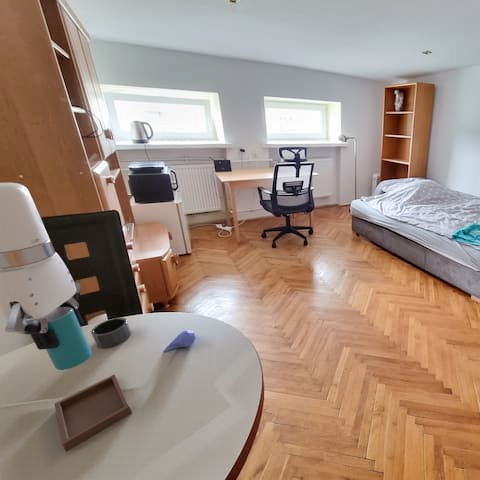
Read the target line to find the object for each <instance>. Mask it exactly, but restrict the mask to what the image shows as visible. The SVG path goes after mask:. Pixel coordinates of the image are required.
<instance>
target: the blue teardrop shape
mask: <svg viewBox="0 0 480 480" xmlns="http://www.w3.org/2000/svg"><path fill="white" fill-rule="evenodd" d="M196 337H197V336H196V334H195V332H194V331H193V330H190V329H188V330H183V331H181V332H180V333H179V334H178V335H177V336H175V338H174V339H173V340H172V341H170V343H169V344H168V345H167V346H166V347H165V348H164V349H163V351H162V352H163V353H165V352H168V351H172V350H175V349H178V348H187V347H191V346H192V345H193V344H194V343H195V341H196V339H197V338H196Z"/></svg>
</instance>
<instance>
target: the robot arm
mask: <svg viewBox="0 0 480 480" xmlns="http://www.w3.org/2000/svg"><path fill="white" fill-rule="evenodd" d="M80 289H81V284H80V283H79V282H76V281H74V279H73V276H72V275H71V273H70V270H69V269H68V267H67V265H66V264H65V261H63V259H62V258H61V256H60V255H59V253H57V252H56V251H55V248H54V246H53V243H52V240H51V239H50V237H49V234H48V232H47V230H46V228H45V225H44V222H43V220H42V218H41V215H40V213H39V211H38V209H37V206H36V203H35V201H34V199H33V197H32V195H31V192H30V191H29V189H28V188H27V187H26V186H25V185H23V184H21V183H17V182H0V309H1V311H2V313H3V315H4V317H5V319H6V320H7V322H6V325H5V329H4V330H5V332H6V333H13V334H14V333H15V334H22V335H23V334H24V335H27V336H29V335H30V337H31V339H32V340H33V342H34V344H35V346H36V348H37V350H41V351H42V350H46V349H52V348H57V347H58V346H59V345H60V344H59V342H58V339H57V337H56V335H55V333H54V331H53V330H52V329H48V323H47V314H49V313H50V312H52V311H53V310H55V309H56V308H60V307H70V308H72V309H73V311H74V313H75V315H76V317H77V320H78V322H79V324H80V326H81V327H82V326H84V324H85V323H84V320H83V317H82V316H81V313H80V311H79V309H78V308H80V307H79V306H80V303H79V302H78V300H79V297H80V295H79V292H80ZM33 320H38V326H35V325H34V322H33Z"/></svg>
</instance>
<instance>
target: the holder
mask: <svg viewBox="0 0 480 480" xmlns="http://www.w3.org/2000/svg"><path fill="white" fill-rule="evenodd" d="M90 334H91V337H92V339H93V341H94V344H95V346H96V347H97V348H98V349H110V348H114V347H116V346H119V345H120V344H122V343H124V342H126V341H127V340H128V339H130V337H131V335H132V330H131V327H130V325H129V322H128V320H127V318H125V317H114V318H110V319H107V320H105V321H102V322H100V323H98V324H97V325H95V326H94V327H93V328H92V329H91V331H90Z"/></svg>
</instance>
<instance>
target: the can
mask: <svg viewBox="0 0 480 480" xmlns="http://www.w3.org/2000/svg"><path fill="white" fill-rule="evenodd" d="M33 322H34V325H35V326H38V320H33ZM47 323H48V329H52V330H53V331H54V333H55V335H56V337H57V339H58V342H59V344H60V345H59V346H58V347H57V348H52V349H45V352H46V353H47V354H48V358H49V359H50V360H51V363H52V364H53V367H54V369H56V370H58V371H65V370H70V369H73V368H75V367H78V366H80V365H81V364H83V363H84V362H86V361H87V360H88V359H90V358H91V356H92V354H93V352H92V349H91V347H90V344H89V343H88V340H87V338H86V335H85V333H84V332H83V329H82V326H80V324H79V322H78V320H77V317H76V315H75V313H74V311H73V309H72V308H70V307H60V308H58V307H57V308H56V309H55V310H53V311H52V312H50V313H49V314H47Z"/></svg>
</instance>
